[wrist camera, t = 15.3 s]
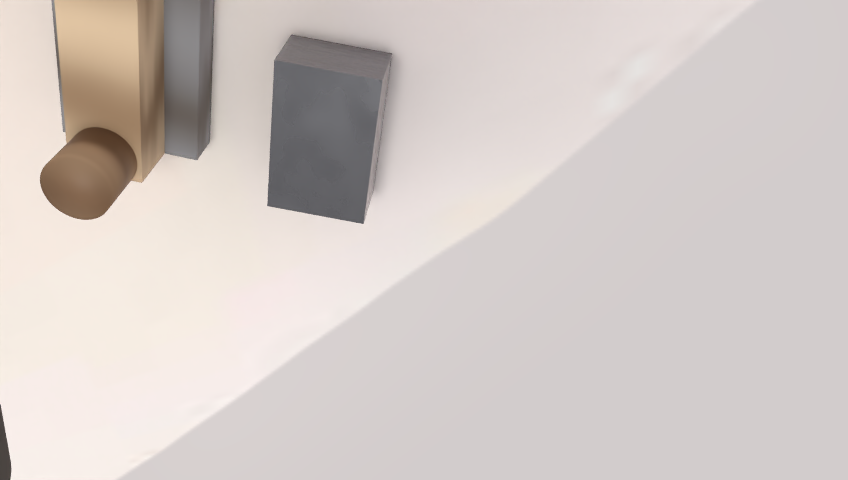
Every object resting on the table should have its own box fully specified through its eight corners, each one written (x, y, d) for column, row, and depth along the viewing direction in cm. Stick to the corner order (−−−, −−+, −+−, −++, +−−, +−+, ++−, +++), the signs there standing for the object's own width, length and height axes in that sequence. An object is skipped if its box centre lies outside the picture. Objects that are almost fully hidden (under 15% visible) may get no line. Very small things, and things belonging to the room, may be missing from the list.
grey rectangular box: (292, 32, 40) (274, 60, 37) (393, 51, 40) (382, 80, 37) (284, 172, 44) (267, 206, 41) (373, 188, 44) (363, 223, 41)
